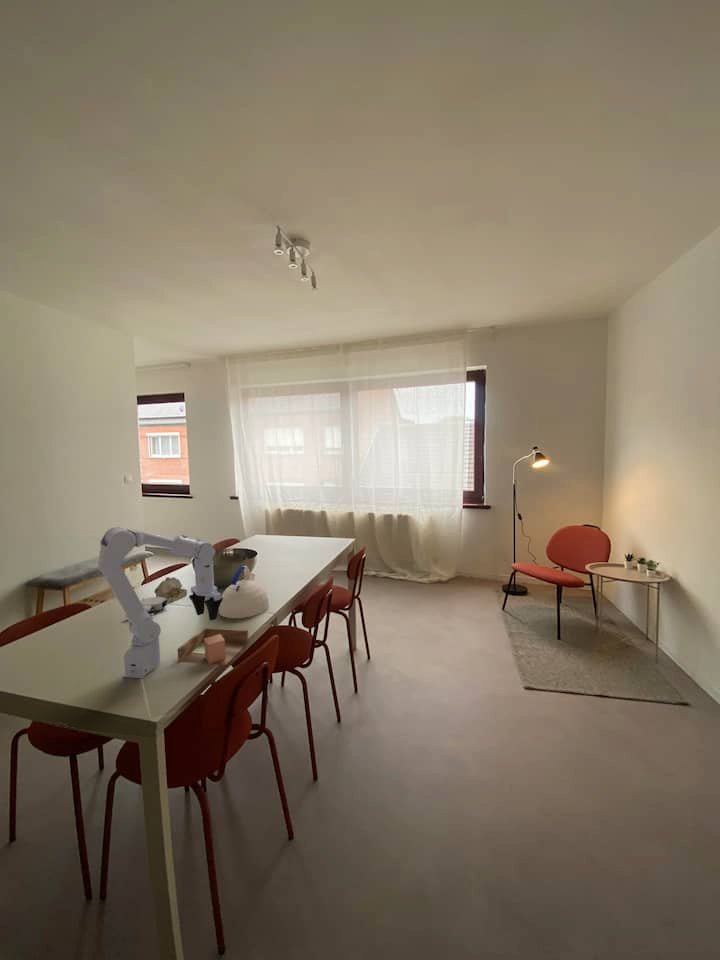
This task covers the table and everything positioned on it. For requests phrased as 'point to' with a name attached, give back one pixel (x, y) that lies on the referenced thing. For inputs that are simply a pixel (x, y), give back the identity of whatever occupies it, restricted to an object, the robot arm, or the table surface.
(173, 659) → the table surface
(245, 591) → the kettle
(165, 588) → the ceramic model
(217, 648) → the cube
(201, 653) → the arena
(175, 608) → the table surface
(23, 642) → the table surface
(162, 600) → the robot toy
